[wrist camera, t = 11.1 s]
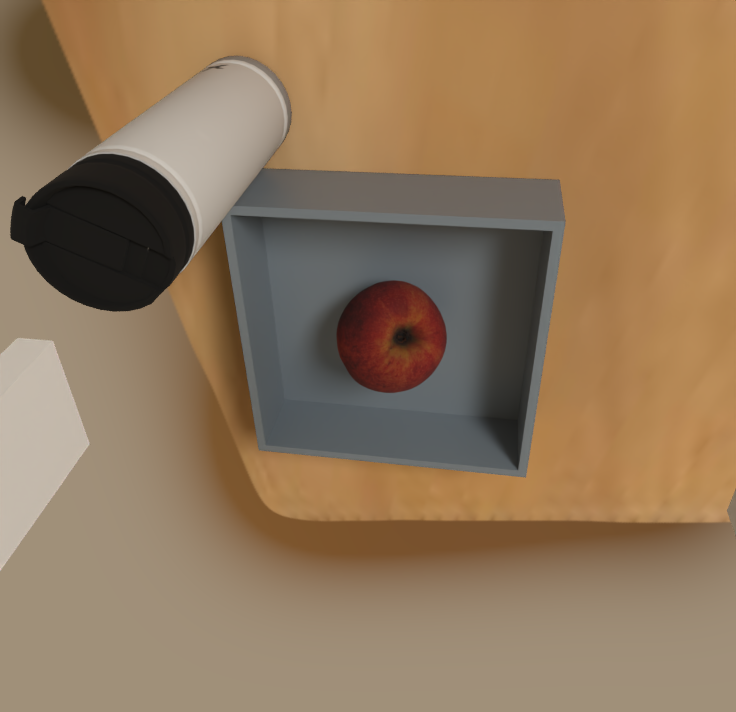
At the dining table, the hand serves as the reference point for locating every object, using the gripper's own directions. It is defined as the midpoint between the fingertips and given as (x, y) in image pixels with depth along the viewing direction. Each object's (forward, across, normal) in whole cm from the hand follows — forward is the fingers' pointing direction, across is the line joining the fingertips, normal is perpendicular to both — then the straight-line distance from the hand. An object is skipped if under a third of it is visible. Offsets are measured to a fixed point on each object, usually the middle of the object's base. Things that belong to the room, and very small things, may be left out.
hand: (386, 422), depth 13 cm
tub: (+33, -4, -18) cm, 38 cm away
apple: (+32, -4, -18) cm, 37 cm away
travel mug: (+33, -14, -4) cm, 36 cm away
